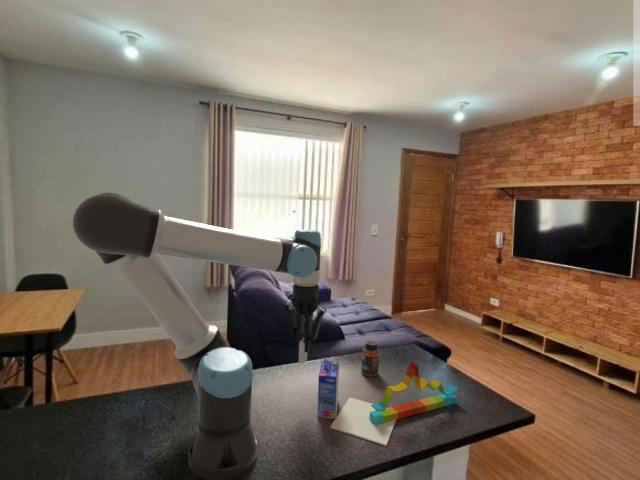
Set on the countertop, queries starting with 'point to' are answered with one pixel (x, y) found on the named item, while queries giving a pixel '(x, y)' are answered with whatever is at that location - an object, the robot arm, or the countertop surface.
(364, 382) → the countertop surface
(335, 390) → the ink cartridge box
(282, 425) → the countertop surface
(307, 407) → the countertop surface
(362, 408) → the plain beige panel
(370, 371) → the supplement bottle
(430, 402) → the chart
